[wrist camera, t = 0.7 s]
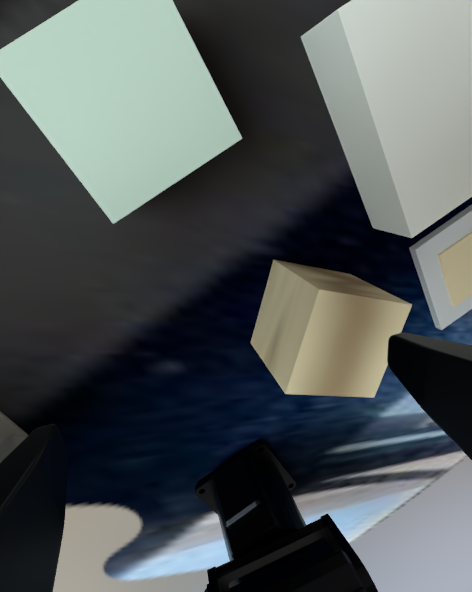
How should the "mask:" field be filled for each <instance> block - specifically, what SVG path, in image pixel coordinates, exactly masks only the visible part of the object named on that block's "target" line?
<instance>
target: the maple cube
mask: <svg viewBox="0 0 472 592" xmlns="http://www.w3.org/2000/svg"><path fill="white" fill-rule="evenodd" d="M411 307H412V304H410V303H408V302H406V301H404V300H402V299H400V298H398V297H396V296H394V295H392V294H389V293H387V292H385V291H383V290H381V289H379V288H377V287H375V286H373V285H371V284H369V283H367V282H365V281H363V280H361V279H359V278H357V277H355V276H353V275H351V274H347V273H342V272H337V271H332V270H326V269H321V268H316V267H310V266H305V265H300V264H294V263H289V262H284V261H278V260H273V264H272V267H271V271H270V274H269V278H268V282H267V285H266V289H265V292H264V296H263V300H262V303H261V307H260V310H259V314H258V318H257V321H256V325H255V328H254V332H253V336H252V339H251V344H252V346H253V347H254V349H255V350H256V352H257V353H258V355H259V356H260V358H261V359H262V360H263V362H264V363H265V365H266V366H267V368H268V369H269V371H270V372H271V374H272V375H273V377H274V378H275V380H276V381H277V382H278V384H279V385H280V387H281V388H282V390H283V391H284V393H285V394H298V395H322V396H347V397H371V398H374V397H375V394H376V392H377V389H378V387H379V385H380V382H381V380H382V377H383V375H384V372H385V370H386V368H387V365H388V362H387V355H388V340H389V338H390V336H392V335H395V334H399V333H401V331H402V329H403V326H404V324H405V321H406V319H407V316H408V314H409V312H410V309H411Z"/></svg>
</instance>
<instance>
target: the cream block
mask: <svg viewBox="0 0 472 592" xmlns="http://www.w3.org/2000/svg"><path fill="white" fill-rule="evenodd" d="M301 39H302V42H303V45H304V47H305V50H306V53H307V55H308V58H309V61H310V63H311V66H312V68H313V71H314V74H315V76H316V79H317V82H318V84H319V87H320V90H321V92H322V95H323V98H324V100H325V103H326V105H327V108H328V111H329V113H330V116H331V119H332V121H333V124H334V127H335V129H336V132H337V134H338V137H339V140H340V142H341V145H342V148H343V150H344V153H345V156H346V158H347V161H348V164H349V166H350V169H351V171H352V174H353V177H354V179H355V182H356V185H357V187H358V190H359V193H360V195H361V198H362V201H363V203H364V206H365V208H366V211H367V214H368V216H369V219H370V222H371V224H372V227H373V228H375V229H378V230H382V231H386V232H390V233H394V234H398V235H401V236H405V237H409V238H413V237H414V236H416V235H417V234H419V233H420V232H422V231H423V230H424V229H426V228H427V227H429V226H430V225H432V224H433V223H435V222H436V221H437V220H439V219H440V218H442V217H443V216H445V215H446V214H448V213H449V212H450V211H452V210H453V209H455V208H456V207H458V206H459V205H461V204H462V203H463V202H465V201H466V200H468V199H469V198H471V197H472V0H351V1H350V2H348V3H347V4H345V5H343V6H342V7H340V8H339V9H337V10H336V11H335V12H333V13H332V14H331V15H329V16H328V17H327V18H325V19H324V20H323V21H321V22H320V23H319V24H317V25H316V26H315V27H313V28H312V29H310V30H309V31H308V32H306V33H305V34H304V35H302V36H301Z"/></svg>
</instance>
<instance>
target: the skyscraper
mask: <svg viewBox="0 0 472 592" xmlns="http://www.w3.org/2000/svg"><path fill="white" fill-rule="evenodd" d="M27 436H28V434H27V433H26V432H24V431H23V430H22V429H21V428H20V427H19V426H17V425H16V424H15V423H14V422H13V421H12V420H10V419H9V418H8V417H7V416H6V415H5V414H3V413H2V412H1V411H0V462H1V461H3V460H4V459H5V458H6V457H7V456H8V455H9V454H10V453H11V452H12V451H13V450H14V449H15V448H16V447H17V446H18V445H19V444H20V443H21V442H22V441H23V440H24V439H25V438H26V437H27Z"/></svg>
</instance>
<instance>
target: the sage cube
mask: <svg viewBox="0 0 472 592" xmlns="http://www.w3.org/2000/svg"><path fill="white" fill-rule="evenodd" d="M0 77H1V79H2V80H3V81H4V83H5V84H6V85H7V87H8V88H9V89H10V90H11V92H12V93H13V94H14V96H15V97H16V98H17V100H18V101H19V102H20V103H21V105H22V106H23V107H24V109H25V110H26V111H27V113H28V114H29V115H30V116H31V118H32V119H33V120H34V122H35V123H36V124H37V126H38V127H39V128H40V129H41V131H42V132H43V133H44V135H45V136H46V137H47V139H48V140H49V141H50V142H51V144H52V145H53V146H54V148H55V149H56V150H57V152H58V153H59V154H60V155H61V157H62V158H63V159H64V161H65V162H66V163H67V165H68V166H69V167H70V168H71V170H72V171H73V172H74V174H75V175H76V176H77V178H78V179H79V180H80V181H81V183H82V184H83V185H84V187H85V188H86V189H87V191H88V192H89V193H90V194H91V196H92V197H93V198H94V200H95V201H96V202H97V204H98V205H99V206H100V207H101V209H102V210H103V211H104V213H105V214H106V215H107V217H108V218H109V219H110V220H111V222H112V223H113V224H114V223H116V222H117V221H119V220H120V219H122V218H123V217H125V216H126V215H128V214H129V213H131V212H132V211H134V210H135V209H137V208H138V207H140V206H141V205H143V204H144V203H146V202H147V201H149V200H150V199H152V198H153V197H155V196H156V195H158V194H159V193H161V192H162V191H164V190H165V189H167V188H168V187H170V186H171V185H173V184H174V183H176V182H178V181H179V180H181V179H182V178H184V177H185V176H187V175H188V174H190V173H191V172H193V171H194V170H196V169H197V168H199V167H200V166H202V165H203V164H205V163H206V162H208V161H209V160H211V159H212V158H214V157H215V156H217V155H218V154H220V153H221V152H223V151H224V150H226V149H227V148H229V147H230V146H232V145H233V144H235V143H236V142H238V141H239V140H241V139H242V136H241V134H240V132H239V131H238V129H237V127H236V125H235V123H234V121H233V119H232V117H231V115H230V113H229V111H228V109H227V107H226V105H225V103H224V101H223V99H222V97H221V95H220V93H219V91H218V89H217V87H216V85H215V83H214V81H213V79H212V77H211V75H210V73H209V71H208V69H207V67H206V65H205V64H204V62H203V60H202V58H201V56H200V54H199V52H198V50H197V48H196V46H195V44H194V42H193V40H192V38H191V36H190V34H189V32H188V30H187V28H186V26H185V24H184V22H183V20H182V18H181V16H180V14H179V12H178V10H177V8H176V6H175V4H174V2H173V0H79V1H77V2H75V3H74V4H72V5H71V6H69V7H67V8H66V9H64V10H63V11H61V12H59V13H58V14H56V15H55V16H53V17H51V18H50V19H48V20H47V21H45V22H43V23H42V24H40V25H39V26H37V27H36V28H34V29H32V30H31V31H29V32H28V33H26V34H24V35H23V36H21V37H20V38H18V39H16V40H15V41H13V42H12V43H10V44H8V45H7V46H5V47H4V48H2V49H0Z"/></svg>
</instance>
